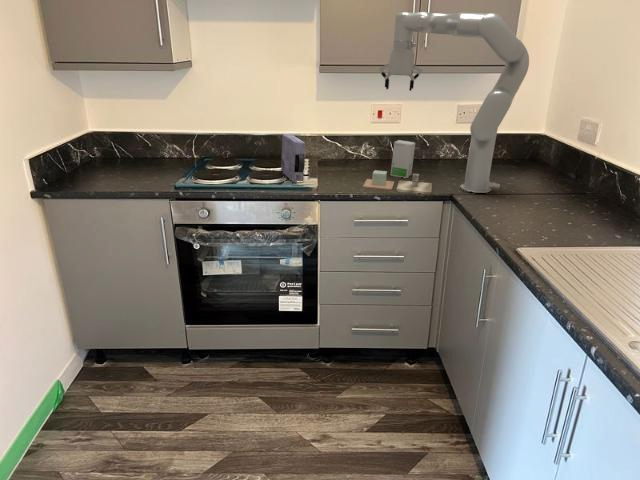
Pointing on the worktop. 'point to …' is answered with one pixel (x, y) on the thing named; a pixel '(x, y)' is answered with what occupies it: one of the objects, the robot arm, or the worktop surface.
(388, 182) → the terracotta tile
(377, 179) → the grey green cube
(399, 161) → the skincare box
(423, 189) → the post stand
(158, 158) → the worktop surface
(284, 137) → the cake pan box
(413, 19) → the robot arm
